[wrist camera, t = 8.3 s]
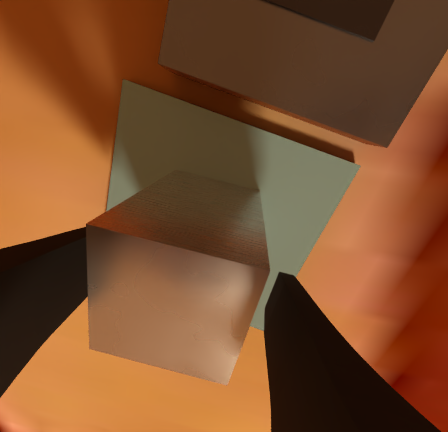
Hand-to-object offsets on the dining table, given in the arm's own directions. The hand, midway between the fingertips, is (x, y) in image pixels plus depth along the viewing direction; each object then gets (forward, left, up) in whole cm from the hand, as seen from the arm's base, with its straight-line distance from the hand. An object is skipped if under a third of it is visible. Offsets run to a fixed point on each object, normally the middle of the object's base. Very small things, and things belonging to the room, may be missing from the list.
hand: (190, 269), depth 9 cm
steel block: (0, -1, -4) cm, 4 cm away
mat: (0, 0, -4) cm, 4 cm away
